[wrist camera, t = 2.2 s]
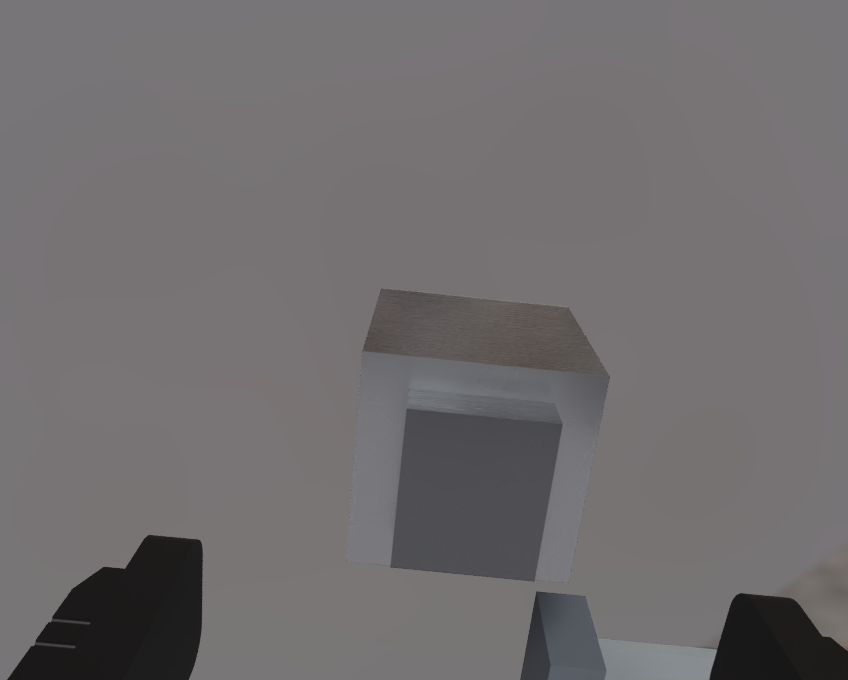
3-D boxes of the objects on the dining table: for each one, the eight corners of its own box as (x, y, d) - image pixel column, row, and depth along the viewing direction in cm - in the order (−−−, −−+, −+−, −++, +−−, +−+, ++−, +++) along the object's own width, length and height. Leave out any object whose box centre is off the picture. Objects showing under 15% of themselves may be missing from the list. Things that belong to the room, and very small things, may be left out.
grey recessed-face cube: (568, 306, 19) (621, 396, 14) (539, 472, 21) (576, 613, 15) (381, 287, 19) (356, 368, 14) (366, 455, 21) (339, 590, 15)
